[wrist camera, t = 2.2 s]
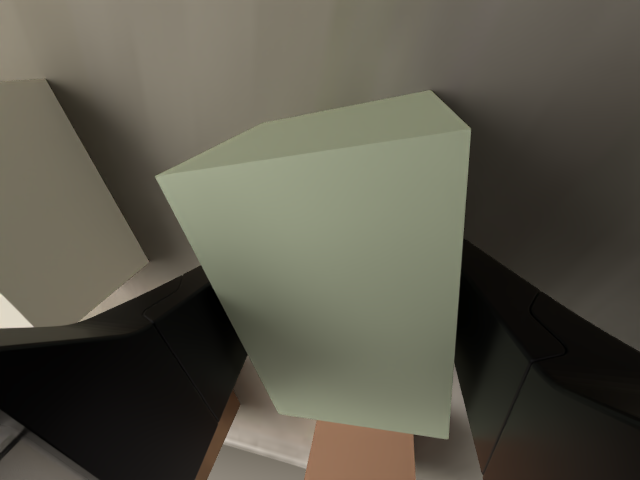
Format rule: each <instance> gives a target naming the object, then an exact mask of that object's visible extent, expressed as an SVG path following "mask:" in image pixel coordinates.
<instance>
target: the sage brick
mask: <svg viewBox="0 0 640 480" xmlns="http://www.w3.org/2000/svg"><path fill="white" fill-rule="evenodd" d="M470 138H471V128H470V127H469V126H468V125H467V124H466V123H465V122H464V121H463V120H461V119H460V118H459V117H458V116H457V115H456V114H455V113H454V112H453V111H452V110H451V109H450V108H449V107H448V106H447V105H446V104H445V103H444V102H443V101H442V100H441V99H440V98H438V97H437V96H436V95H435V94H434V93H433V92H432V91H431V90H428V91H423V92H418V93H413V94H407V95H402V96H397V97H392V98H387V99H382V100H377V101H372V102H367V103H361V104H356V105H351V106H346V107H341V108H336V109H331V110H326V111H320V112H315V113H310V114H305V115H300V116H295V117H290V118H285V119H279V120H274V121H269V122H264V123H261V124H259V125H257V126H255V127H253V128H251V129H249V130H247V131H245V132H243V133H241V134H239V135H237V136H235V137H233V138H231V139H229V140H227V141H225V142H223V143H221V144H219V145H217V146H215V147H213V148H211V149H209V150H207V151H205V152H203V153H201V154H199V155H197V156H195V157H193V158H191V159H189V160H187V161H185V162H183V163H181V164H179V165H177V166H175V167H173V168H171V169H168V170H166V171H164V172H162V173H160V174H158V175H156V176H155V178H156V180H157V182H158V183H159V185H160V187H161V189H162V191H163V193H164V195H165V197H166V199H167V201H168V203H169V205H170V206H171V208H172V210H173V212H174V214H175V216H176V218H177V220H178V222H179V224H180V226H181V228H182V229H183V231H184V233H185V235H186V237H187V239H188V241H189V243H190V245H191V247H192V249H193V251H194V252H195V254H196V256H197V258H198V260H199V262H200V264H201V266H202V268H203V270H204V272H205V274H206V275H207V277H208V279H209V281H210V283H211V285H212V287H213V289H214V291H215V293H216V295H217V297H218V298H219V300H220V302H221V304H222V306H223V308H224V310H225V312H226V314H227V316H228V318H229V320H230V321H231V323H232V325H233V327H234V329H235V331H236V333H237V335H238V337H239V339H240V341H241V343H242V344H243V346H244V348H245V350H246V352H247V354H248V356H249V358H250V360H251V362H252V364H253V366H254V368H255V369H256V371H257V373H258V375H259V377H260V379H261V381H262V383H263V385H264V387H265V389H266V391H267V392H268V394H269V396H270V398H271V400H272V402H273V404H274V406H275V408H276V410H277V412H278V414H281V415H288V416H294V417H301V418H308V419H314V420H321V421H328V422H334V423H341V424H348V425H354V426H361V427H368V428H375V429H381V430H388V431H395V432H401V433H408V434H415V435H421V436H428V437H435V438H441V439H448V438H449V424H450V411H451V397H452V383H453V370H454V356H455V342H456V329H457V315H458V301H459V288H460V274H461V261H462V247H463V233H464V220H465V206H466V192H467V179H468V165H469V152H470Z"/></svg>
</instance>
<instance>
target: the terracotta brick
mask: <svg viewBox="0 0 640 480" xmlns="http://www.w3.org/2000/svg"><path fill="white" fill-rule="evenodd" d="M304 480H415V459H414V438H413V434H408V433H401V432H395V431H388V430H381V429H375V428H368V427H361V426H354V425H348V424H341V423H334V422H328V421H321V420H317V422H316V427H315V432H314V436H313V441H312V446H311V450H310V455H309V460H308V464H307V469H306V474H305V478H304Z"/></svg>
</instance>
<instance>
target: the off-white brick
mask: <svg viewBox="0 0 640 480" xmlns="http://www.w3.org/2000/svg"><path fill="white" fill-rule="evenodd" d="M148 263H149V260H148V259H147V257H146V255H145V253H144V252H143V250H142V248H141V246H140V245H139V243H138V241H137V239H136V238H135V236H134V234H133V232H132V231H131V229H130V227H129V225H128V223H127V222H126V220H125V218H124V216H123V215H122V213H121V211H120V209H119V208H118V206H117V204H116V202H115V201H114V199H113V197H112V195H111V194H110V192H109V190H108V188H107V186H106V185H105V183H104V181H103V179H102V178H101V176H100V174H99V172H98V171H97V169H96V167H95V165H94V164H93V162H92V160H91V158H90V157H89V155H88V153H87V151H86V149H85V148H84V146H83V144H82V142H81V141H80V139H79V137H78V135H77V134H76V132H75V130H74V128H73V127H72V125H71V123H70V121H69V120H68V118H67V116H66V114H65V112H64V111H63V109H62V107H61V105H60V104H59V102H58V100H57V98H56V97H55V95H54V93H53V91H52V90H51V88H50V86H49V84H48V83H47V81H46V79H30V80H14V81H0V328H25V327H51V326H63V325H69V324H74V323H77V322H78V321H80V320H81V319H82V318H83V317H84V316H86V315H87V314H88V313H89V312H90V311H92V310H93V309H94V308H95V307H96V306H98V305H99V304H100V303H101V302H102V301H104V300H105V299H106V298H107V297H108V296H110V295H111V294H112V293H113V292H114V291H115V290H117V289H118V288H119V287H120V286H121V285H123V284H124V283H125V282H126V281H127V280H129V279H130V278H131V277H132V276H133V275H135V274H136V273H137V272H138V271H139V270H141V269H142V268H143V267H144V266H145V265H147V264H148Z"/></svg>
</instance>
